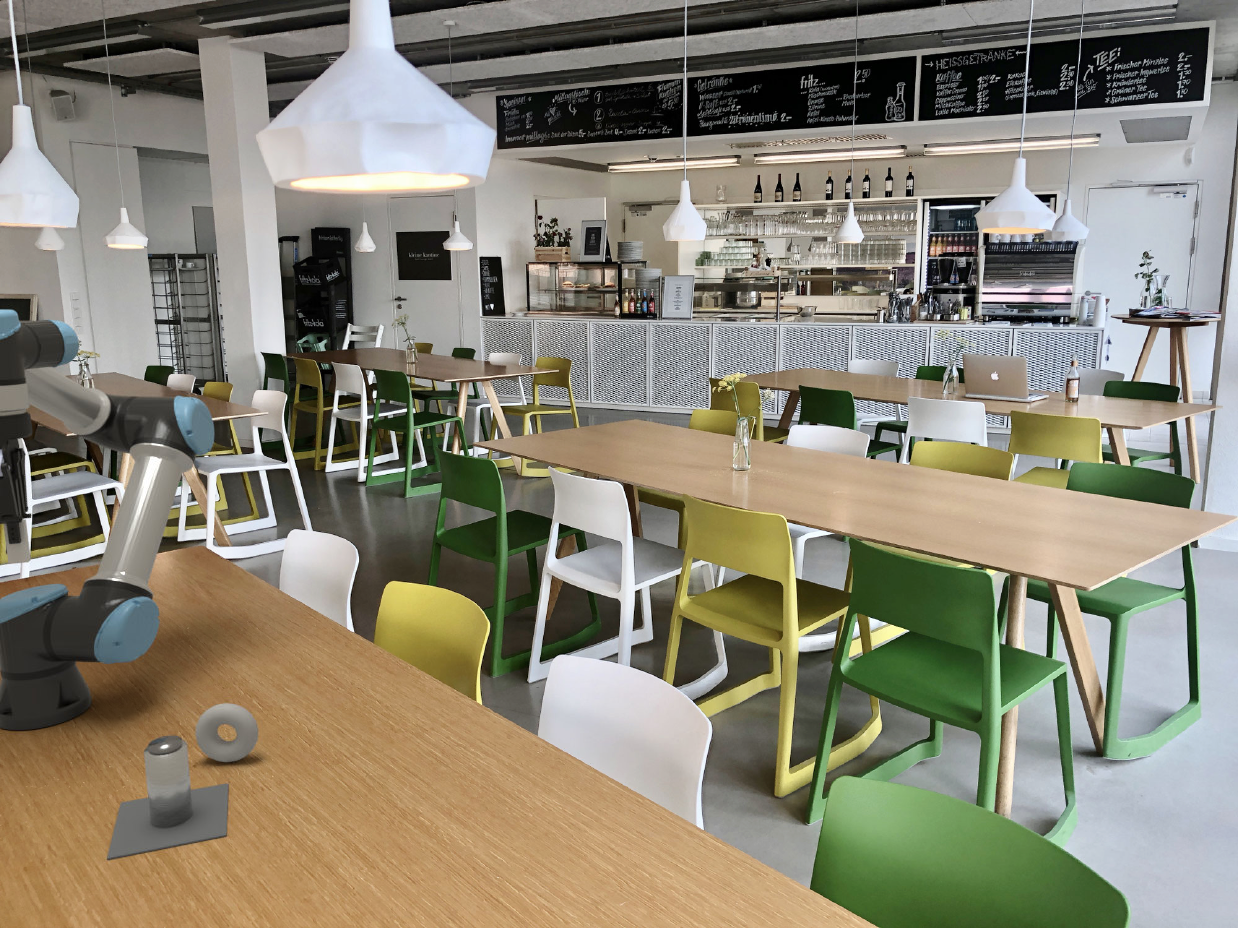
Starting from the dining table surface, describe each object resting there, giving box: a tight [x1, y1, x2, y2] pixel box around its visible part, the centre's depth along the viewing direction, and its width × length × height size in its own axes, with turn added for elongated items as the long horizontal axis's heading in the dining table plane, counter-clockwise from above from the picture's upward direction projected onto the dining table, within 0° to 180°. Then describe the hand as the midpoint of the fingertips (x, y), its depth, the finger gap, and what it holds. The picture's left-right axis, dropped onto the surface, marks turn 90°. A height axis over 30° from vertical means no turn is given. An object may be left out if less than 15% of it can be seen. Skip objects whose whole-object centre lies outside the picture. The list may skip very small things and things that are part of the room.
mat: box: [106, 782, 229, 861], centre depth 135 cm, size 15×15×1 cm
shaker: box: [143, 734, 193, 828], centre depth 134 cm, size 6×6×12 cm
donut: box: [194, 702, 259, 763], centre depth 151 cm, size 10×4×10 cm, turn 92°
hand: (19, 561), depth 144 cm, fingers closed
